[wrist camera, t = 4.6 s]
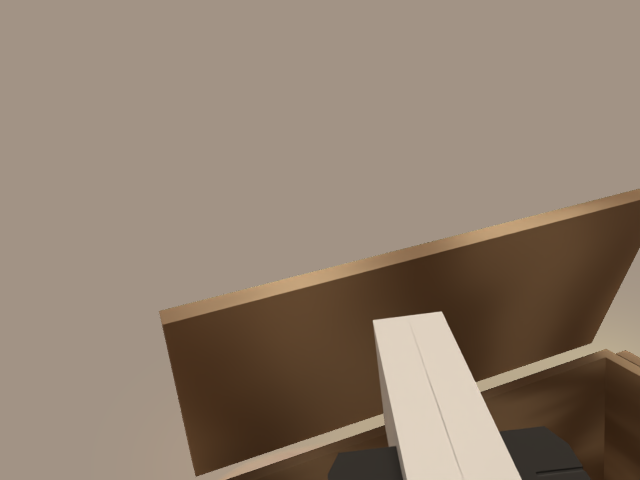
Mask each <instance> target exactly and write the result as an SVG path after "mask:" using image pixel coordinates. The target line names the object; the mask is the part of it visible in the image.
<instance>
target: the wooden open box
mask: <svg viewBox="0 0 640 480" xmlns="http://www.w3.org/2000/svg"><path fill="white" fill-rule="evenodd" d="M480 393H481V395H482V397H483V399H484V401H485V404H486V406H487V408H488V410H489V412H490V414H491V416H492V418H493V420H494V423H495V425H496V427H497V429H498V431H507V430H515V429H524V428H532V427H540V426H545V427H546V428H547V429H549V430H550V431H552V432H553V433H554V434H556V435H557V436H558V437H560V438H561V439H563V440H564V441H565V442H567V443H568V444H569V445H570V447H571V449H572V450H573V452H574V453H575V455H576V456H577V458H578V460H579V461H580V463H581V464H582V466H583V470H584V471H586V472H587V474H588V475H589V477H590V479H591V480H640V358H639V357H637V356H636V355H634V354H632V353H630V352H628V351H626V350H625V351H622V352H619V353H616V354H615V353H613V352H611V351H609V350H607V349H604V350H602V351H599V352H596V353H593V354H590V355H587V356H585V357H581V358H578V359H575V360H573V361H570V362H567V363H564V364H561V365H558V366H555V367H553V368H549V369H547V370H544V371H541V372H538V373H535V374H532V375H529V376H526V377H524V378H520V379H517V380H514V381H512V382H509V383H506V384H503V385H500V386H497V387H494V388H491V389H488V390H486V391H483V392H480ZM383 447H389V445H388V439H387V434H386V429H385V425H384V426H381V427H378V428H375V429H372V430H370V431H366V432H363V433H361V434H358V435H355V436H352V437H349V438H346V439H343V440H340V441H337V442H334V443H332V444H329V445H326V446H323V447H320V448H317V449H314V450H311V451H308V452H305V453H302V454H300V455H297V456H294V457H291V458H288V459H285V460H282V461H279V462H276V463H273V464H271V465H268V466H265V467H262V468H259V469H256V470H253V471H250V472H247V473H244V474H241V475H239V476H236V477H233V478H230V479H227V480H328V473H329V471H330V469H331V467H332V465H333V463H334V461H335V459H336V457H337V455H338V453H341V452H350V451H358V450H366V449H375V448H383Z"/></svg>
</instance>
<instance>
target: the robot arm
mask: <svg viewBox="0 0 640 480" xmlns="http://www.w3.org/2000/svg"><path fill="white" fill-rule="evenodd" d="M373 327H374V336H375V344H376V353H377V362H378V370H379V379H380V387H381V396H382V404H383V413H384V421H385V429H386V434H387V439H388V445H389V447H383V448H375V449H366V450H358V451H350V452H341V453H338V455H337V457H336V459H335V461H334V463H333V465H332V467H331V469H330V471H329V473H328V480H591V479H590V477H589V475H588V474H587V472H586V471H584V470H583V466H582V464H581V463H580V461H579V460H578V458H577V456H576V455H575V453H574V452H573V450H572V449H571V447H570V445H569V444H568V443H567V442H565V441H564V440H563V439H561V438H560V437H558V436H557V435H556V434H554V433H553V432H552V431H550V430H549V429H547V428H546V427H545V426H540V427H532V428H524V429H515V430H507V431H498V429H497V427H496V425H495V423H494V420H493V418H492V416H491V414H490V412H489V410H488V408H487V406H486V404H485V401H484V399H483V397H482V395H481V393H480V391H479V389H478V387H477V385H476V383H475V380H474V378H473V376H472V374H471V372H470V370H469V368H468V366H467V364H466V362H465V359H464V357H463V355H462V353H461V351H460V349H459V347H458V345H457V343H456V340H455V338H454V336H453V334H452V332H451V330H450V328H449V326H448V324H447V322H446V319H445V317H444V315H443V313H442V311H441V312H433V313H426V314H418V315H410V316H402V317H394V318H386V319H378V320H373Z"/></svg>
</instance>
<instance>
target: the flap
mask: <svg viewBox="0 0 640 480" xmlns="http://www.w3.org/2000/svg"><path fill="white" fill-rule="evenodd" d="M639 248H640V189H636V190H632V191H629V192H625V193H621V194H617V195H613V196H609V197H605V198H601V199H598V200H593V201H589V202H586V203H582V204H578V205H574V206H570V207H566V208H562V209H558V210H554V211H550V212H546V213H543V214H538V215H534V216H530V217H526V218H523V219H519V220H515V221H511V222H507V223H503V224H499V225H495V226H491V227H487V228H483V229H479V230H475V231H472V232H468V233H464V234H460V235H456V236H452V237H448V238H445V239H440V240H437V241H432V242H428V243H424V244H420V245H417V246H413V247H409V248H405V249H401V250H397V251H393V252H389V253H385V254H382V255H378V256H373V257H370V258H366V259H362V260H358V261H354V262H350V263H346V264H342V265H338V266H334V267H330V268H326V269H323V270H318V271H315V272H311V273H307V274H303V275H299V276H295V277H291V278H287V279H283V280H279V281H275V282H271V283H267V284H263V285H260V286H256V287H252V288H248V289H244V290H240V291H236V292H232V293H228V294H225V295H220V296H216V297H212V298H209V299H205V300H201V301H197V302H193V303H189V304H185V305H181V306H178V307H173V308H169V309H166V310H161V311H159V313H160V317H161V322H162V327H163V331H164V336H165V340H166V344H167V349H168V354H169V358H170V363H171V368H172V372H173V376H174V381H175V386H176V390H177V395H178V399H179V404H180V408H181V413H182V418H183V422H184V427H185V431H186V436H187V440H188V445H189V449H190V454H191V458H192V463H193V467H194V470H195V475H196V476H199V475H202V474H205V473H208V472H211V471H214V470H217V469H220V468H223V467H226V466H229V465H232V464H235V463H238V462H241V461H244V460H247V459H250V458H253V457H256V456H258V455H262V454H264V453H267V452H270V451H273V450H276V449H279V448H282V447H285V446H288V445H291V444H294V443H297V442H300V441H303V440H306V439H309V438H311V437H315V436H318V435H321V434H324V433H326V432H330V431H333V430H335V429H338V428H341V427H344V426H347V425H350V424H353V423H356V422H359V421H362V420H365V419H368V418H371V417H374V416H377V415H380V414H383V404H382V396H381V387H380V379H379V370H378V362H377V353H376V344H375V336H374V327H373V320H378V319H386V318H394V317H402V316H410V315H418V314H426V313H433V312H441V311H442V313H443V315H444V317H445V319H446V322H447V324H448V326H449V328H450V330H451V332H452V334H453V336H454V338H455V340H456V343H457V345H458V347H459V349H460V351H461V353H462V355H463V357H464V359H465V362H466V364H467V366H468V368H469V370H470V372H471V374H472V376H473V378H474V380H475V382H478V381H480V380H483V379H486V378H489V377H492V376H495V375H498V374H501V373H504V372H507V371H510V370H513V369H516V368H519V367H522V366H525V365H528V364H531V363H534V362H537V361H540V360H543V359H545V358H548V357H551V356H554V355H557V354H560V353H563V352H566V351H569V350H572V349H575V348H578V347H581V346H584V345H587V344H590V343H592V341H593V339H594V337H595V335H596V333H597V331H598V329H599V327H600V325H601V323H602V321H603V319H604V317H605V315H606V313H607V311H608V309H609V307H610V305H611V303H612V301H613V299H614V297H615V295H616V293H617V291H618V289H619V287H620V285H621V283H622V281H623V280H624V278H625V276H626V274H627V272H628V269H629V268H630V266H631V263H632V262H633V260H634V258H635V256H636V254H637V252H638V250H639Z"/></svg>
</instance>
